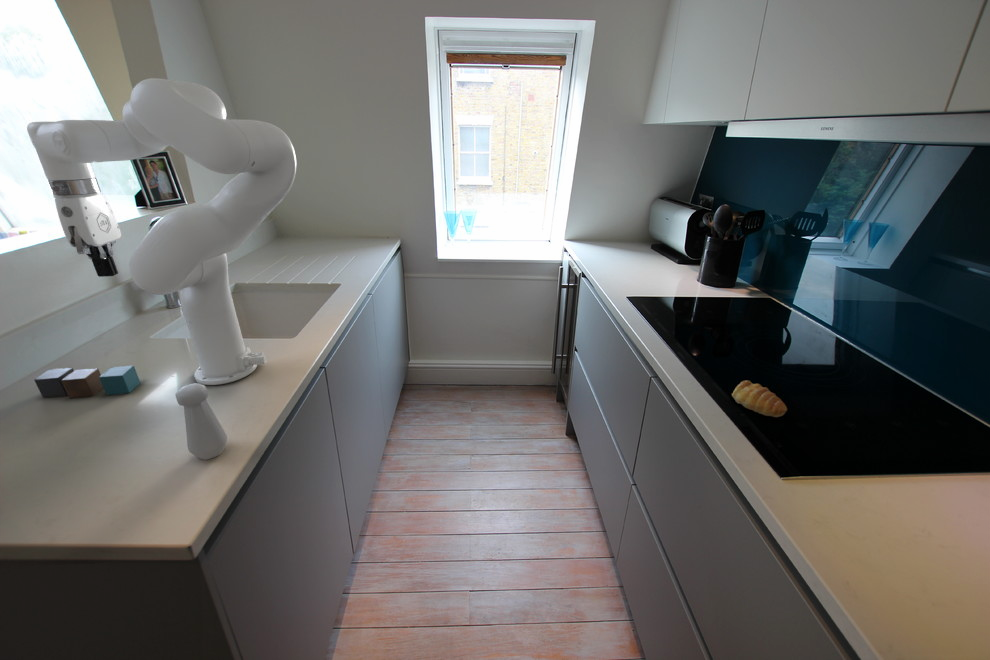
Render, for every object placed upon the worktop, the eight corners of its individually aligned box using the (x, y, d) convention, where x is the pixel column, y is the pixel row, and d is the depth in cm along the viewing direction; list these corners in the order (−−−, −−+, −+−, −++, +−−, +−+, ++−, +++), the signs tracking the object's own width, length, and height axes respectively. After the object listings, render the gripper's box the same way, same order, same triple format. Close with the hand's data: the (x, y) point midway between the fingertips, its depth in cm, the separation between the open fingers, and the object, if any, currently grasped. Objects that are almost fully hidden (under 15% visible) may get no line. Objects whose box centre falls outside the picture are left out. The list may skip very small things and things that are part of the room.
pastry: (792, 412, 87) (797, 396, 85) (772, 423, 84) (777, 407, 82) (746, 390, 94) (750, 375, 92) (726, 400, 91) (730, 384, 89)
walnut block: (105, 385, 97) (98, 368, 96) (92, 396, 93) (84, 378, 92) (83, 387, 97) (75, 369, 95) (69, 398, 93) (60, 380, 91)
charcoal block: (80, 385, 98) (72, 367, 96) (66, 395, 94) (57, 377, 92) (58, 386, 97) (49, 369, 95) (42, 397, 93) (33, 379, 91)
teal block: (140, 382, 98) (133, 365, 97) (129, 393, 94) (122, 375, 93) (118, 384, 98) (111, 367, 96) (106, 395, 94) (98, 377, 92)
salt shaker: (212, 465, 74) (189, 399, 68) (183, 461, 75) (158, 395, 69) (237, 443, 79) (218, 380, 74) (210, 439, 80) (189, 377, 75)
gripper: (70, 192, 84) (106, 285, 91) (118, 184, 97) (145, 265, 105) (25, 193, 83) (65, 287, 90) (80, 185, 96) (110, 266, 104)
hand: (108, 275), depth 98 cm, fingers closed
